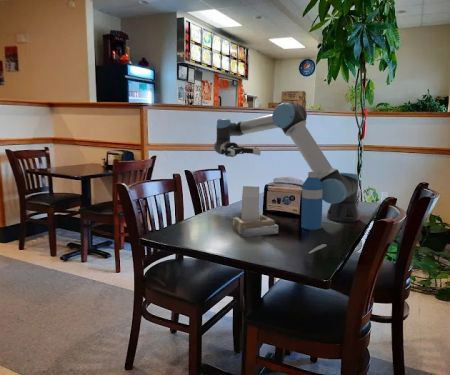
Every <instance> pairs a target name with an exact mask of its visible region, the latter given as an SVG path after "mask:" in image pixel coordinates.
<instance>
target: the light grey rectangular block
mask: <svg viewBox="0 0 450 375" xmlns="http://www.w3.org/2000/svg"><path fill="white" fill-rule="evenodd" d="M241 194H242V195H241V218H240V219H241V220H243V221H244V222H249V221H259V215H260V214H259V211H260V210H259V209H260V186H255V185H254V186H250V185H249V186H248V185H243V186H242V193H241Z"/></svg>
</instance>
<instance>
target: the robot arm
mask: <svg viewBox="0 0 450 375" xmlns="http://www.w3.org/2000/svg"><path fill="white" fill-rule="evenodd" d="M307 119H308V114H307V110H306V108H305V107H304V106H303V105H301V104H298V103H290V102H282V103H279V104H278V105H277V106H275V108H274V109H273V111H272V114H269V115H265V116H264V115H263V116H259V117H256V118H251V119H247V120H241V121H237V122H231V119H229V118H218V119H217V121H216V142H214V144H213V149H214V151H215V152H216V154H219V155H223V156H225V157H230V158H231V157H232V158H234V157H236V156H237V155H244V154H252V155H255V156H261V150H262V149H259V148H257V146H256V147H255V146H254V148H253V147H245V146H239V145H238V143H236V142H234V141H233V142H232V141H231V137H234V136H235V137H239V136H241V137H242V136H244V135H248V134H252V133H253V134H254V133H257V132H263V131H268V130H274V129H278V128H279V129H281V130H282V132H283V133H284V135H285V136H287V137H290V138H291V140H292V141H293V143H294V144H295V146H296V148H297V149H298V152H299V153H300V155H301V156H302V157H303V158H304V161H305V162H306V164H307V165H308V166H309V169H310V170H311V172H318V174H317V177H318V178H319V180H320V181H321V182H322V184H323V198H322V201H324V202H325V203H327V204H330V206H329V207H328V210H327V213H326V218H327V219H328V220H330V221H331V220H332V221H335V222H339V223H340V222H343V223H355V222H358V221H359V218H360V217H359V216H360V215H359V211H358V207H357V199H358V188H359V186H358V185H359V175H358V174H357V173H351V172H350V173H349V172H340V171H339V169H337V168H335V167H334V168H333V166H332V165H331V163H330V162H329V160H328V159H327V157H326V156H325V154H324V153H323V150H322V149H321V148H320V146H319V145H318V143H317V142H316V140H315V138H314V137H313V135H312V134H311V132H310V131H309V129H308V128H307V126H306V125H307Z"/></svg>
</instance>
